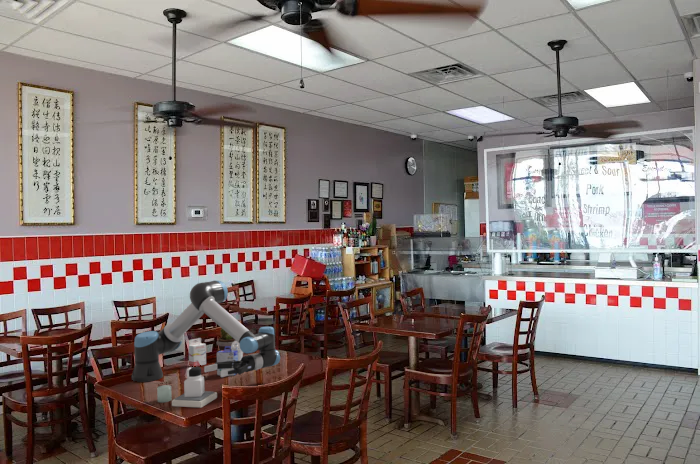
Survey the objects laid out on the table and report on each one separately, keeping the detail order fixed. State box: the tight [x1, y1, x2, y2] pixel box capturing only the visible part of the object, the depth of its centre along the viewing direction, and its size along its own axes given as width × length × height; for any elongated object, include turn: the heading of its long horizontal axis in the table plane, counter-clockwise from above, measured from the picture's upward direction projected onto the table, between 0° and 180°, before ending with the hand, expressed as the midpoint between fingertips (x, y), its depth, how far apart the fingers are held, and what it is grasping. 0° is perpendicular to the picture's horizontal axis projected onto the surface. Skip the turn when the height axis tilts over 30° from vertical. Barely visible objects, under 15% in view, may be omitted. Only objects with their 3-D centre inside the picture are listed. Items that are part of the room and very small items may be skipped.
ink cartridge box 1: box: [188, 337, 207, 367], centre depth 309 cm, size 9×5×15 cm, turn 141°
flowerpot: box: [215, 327, 236, 351], centre depth 326 cm, size 14×15×20 cm
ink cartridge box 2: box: [216, 346, 238, 377], centre depth 286 cm, size 10×6×14 cm, turn 78°
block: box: [156, 384, 173, 403], centre depth 244 cm, size 6×6×6 cm
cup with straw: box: [231, 341, 244, 361], centre depth 307 cm, size 8×9×20 cm
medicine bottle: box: [183, 366, 206, 397], centre depth 240 cm, size 7×7×12 cm
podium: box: [171, 390, 218, 409], centre depth 240 cm, size 14×14×3 cm
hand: (212, 371), depth 247 cm, fingers open, 13 cm apart
